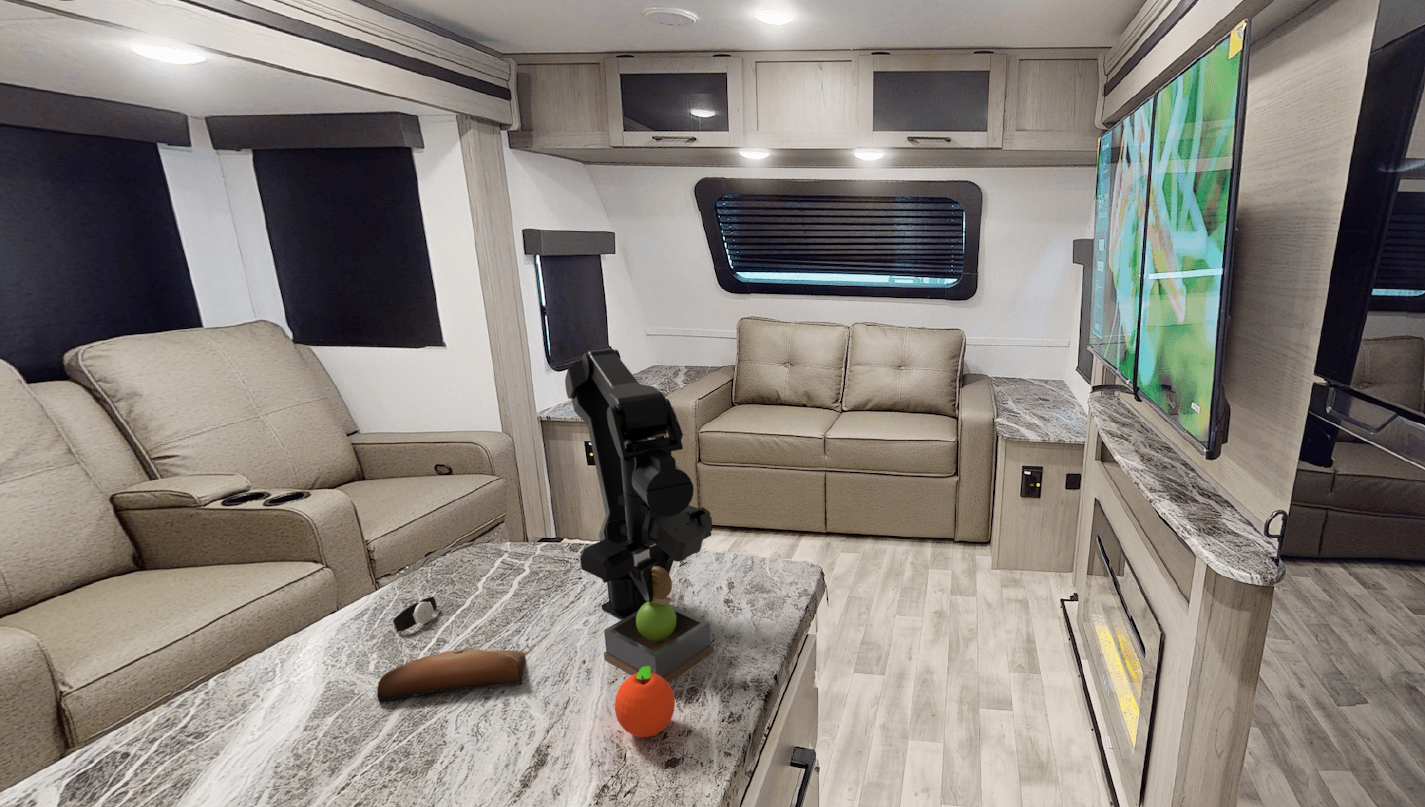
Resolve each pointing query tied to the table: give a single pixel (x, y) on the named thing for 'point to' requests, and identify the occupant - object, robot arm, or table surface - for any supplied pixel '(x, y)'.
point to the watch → (415, 614)
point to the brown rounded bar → (452, 672)
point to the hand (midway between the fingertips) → (654, 598)
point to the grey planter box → (658, 646)
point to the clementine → (644, 703)
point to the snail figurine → (657, 609)
